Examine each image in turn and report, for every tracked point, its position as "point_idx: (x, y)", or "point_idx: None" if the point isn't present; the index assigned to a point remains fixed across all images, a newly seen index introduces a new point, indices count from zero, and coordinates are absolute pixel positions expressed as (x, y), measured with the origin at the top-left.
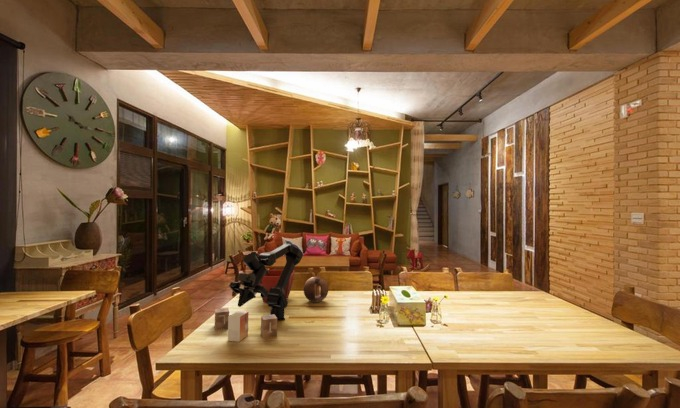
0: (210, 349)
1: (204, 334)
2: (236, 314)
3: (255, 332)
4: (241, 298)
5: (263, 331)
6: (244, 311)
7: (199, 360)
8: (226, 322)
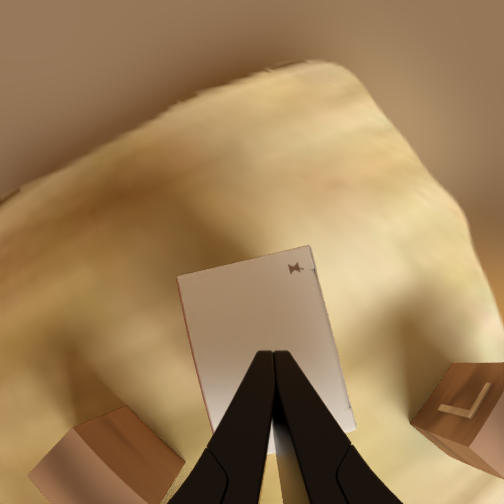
0: (277, 171)
1: (449, 290)
2: (267, 321)
3: None
4: (292, 459)
5: (109, 413)
6: None
7: (235, 95)
8: (437, 419)
